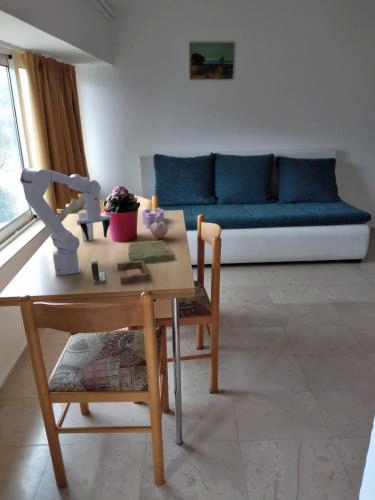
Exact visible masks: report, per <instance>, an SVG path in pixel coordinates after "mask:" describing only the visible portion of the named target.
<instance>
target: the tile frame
mask: <svg viewBox="0 0 375 500" xmlns="http://www.w3.org/2000/svg"><path fill="white" fill-rule="evenodd" d="M146 264H147V263H145V262H144V260H140V261H132V262H131V261H125V262H117V264H116V266H117V271H124V270H133V269H141V270H142V273H141V274H135V275H128V274H127V275H122V276H121V275H120V284H121V285H122V284H131V283H138V282H139V283H140V282H146V281H151V277H150V275H151V274H150V271H149V270H148V267H147V265H146Z"/></svg>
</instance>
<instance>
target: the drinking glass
mask: <svg viewBox="0 0 375 500" xmlns="http://www.w3.org/2000/svg"><path fill="white" fill-rule="evenodd" d="M77 215H78V220H80V219H84V218H87V212H86V209H82V210H78V212H77ZM86 225H87V229H88V237H89V240H88V241H87V239H86V236H85V233H84V231H83V229H82V228H81V227H80V230H81V235H82V239H83V241H85V242H90V241H93V240H94V239H95V236H94V223H88V224H86Z"/></svg>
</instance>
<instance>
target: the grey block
mask: <svg viewBox="0 0 375 500" xmlns="http://www.w3.org/2000/svg"><path fill="white" fill-rule="evenodd" d="M98 262H99V261H98V260H97V261H91V262H90V264H91V265H90V266H91V273H92V282H93V285H96V284H104V283H106V275H105V271H99V263H98Z"/></svg>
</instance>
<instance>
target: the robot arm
mask: <svg viewBox="0 0 375 500" xmlns="http://www.w3.org/2000/svg"><path fill="white" fill-rule="evenodd" d="M19 182H20V183H21V184H22V189H23V191H24V198H25V200H26V201H27V203H28V205H30V207H31V208H32V209H33V211H34V212H35V214H36V215H37V216H38V217H39V219H40V220H41V222H42V223H43V224H44V225H45V227H46V228H47V230H48V231H49V232H50V238H51V239H52V244H53V246H54V247H55V248H56V251H54V252H52V254H53V255H52V256H53V265H54V270H55V276H63V275H71V274H80V273H81V264H79V258H78V257H79V256H78V249H79V247H80V243H81V241H80V239H79V237H77V236H75V235H74V234H73V233H72V231H70V230H68V229H67V228H65V226H64V224H63V223H62V222H61V220H60V219H59V218H58V216H57V215H56V214H55V211H54V210H53V209H52V207H50V205H49V204H48V202H47V201H46V199H45V198H44V196H45V193H46V192H47V190H48V189H49V186H50V184H53V183H54V182H56V183H61V184H65V185H67V187H68V188H69V189H71V190H75V191H79V192H81V193H82V194H83V195H84V203H85V208H86V209H85V210H86V212H87V218H84V219H80V220H79V219H76V225H77V226H80V229H81V228H82V229H83V231H84V233H85V236H86V239H87V241H86V242H89V241H88V240H89V237H88V229H87V225H86V224H88V223H93V224H95V223H101V224H102V229H103V237H104V239H105V238H107V237H108V236H107V235H108V230H109V227H110V225H111V221H113V220H112V218H113V217H112V215H101V214H102V213H101V203H100V192H101V189H102V187H101V185H100V184H99V182H98V181H97V180H95V179H90V178H89V177H87V176H85V177H84V176H81V174H79V173H75V174H71V175H70V176H69V175H67V174H64V173H60V172H57V171H55V170H52V169H51V170H48V169H44V168H42V169H41V168H32V167H26V168H24V169H23V170H22V172H21V174H20V178H19Z"/></svg>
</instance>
